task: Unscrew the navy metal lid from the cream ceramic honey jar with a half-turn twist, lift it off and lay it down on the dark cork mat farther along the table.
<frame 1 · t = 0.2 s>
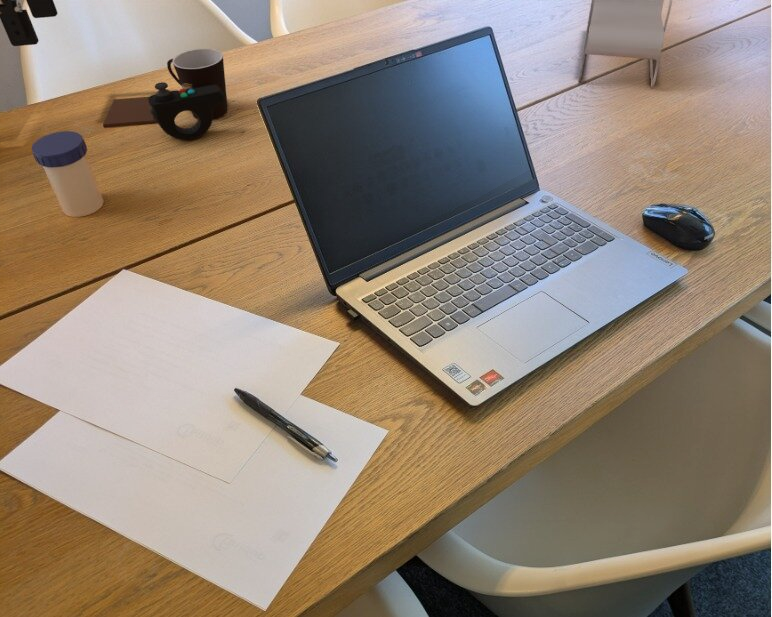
hand: (36, 29, 86), 25 cm above the table, tool pointing down, fingers open, 9 cm apart
chair: (616, 64, 131), on the table
jar lid: (58, 145, 93), point 10 cm above the table, screwed on, not yet turned
jar: (83, 205, 100), on the table
coffee mug: (207, 110, 122), on the table
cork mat: (136, 112, 122), on the table
controller: (196, 137, 115), on the table
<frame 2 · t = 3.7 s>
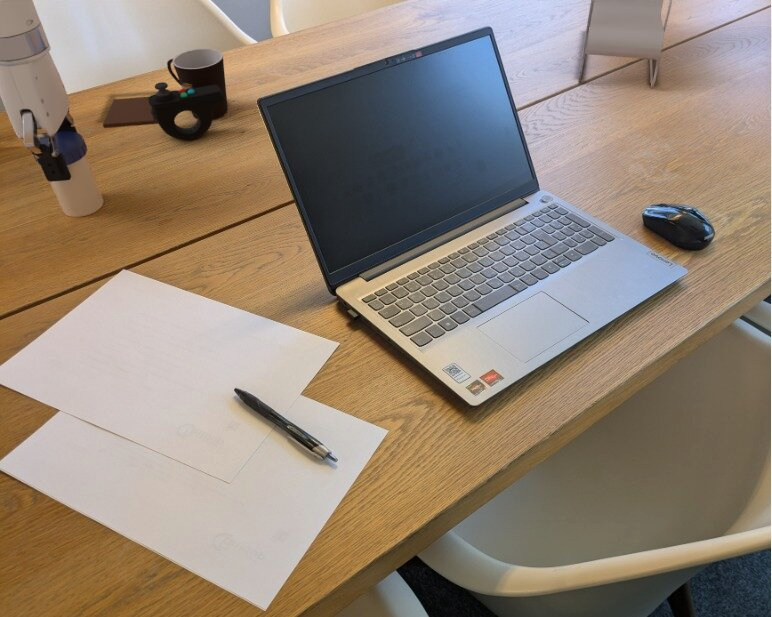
hand: (66, 164, 95), 7 cm above the table, tool pointing down, fingers closed on jar lid, 6 cm apart
jar lid: (58, 145, 93), point 10 cm above the table, screwed on, not yet turned, touching gripper
everything else where it was.
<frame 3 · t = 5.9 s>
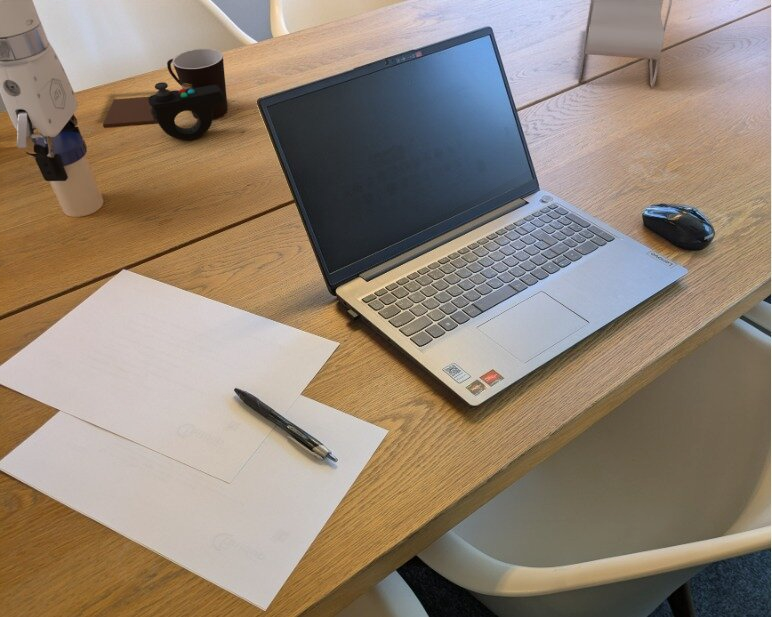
hand: (66, 164, 95), 7 cm above the table, tool pointing down, fingers closed on jar lid, 6 cm apart
jar lid: (58, 145, 93), point 10 cm above the table, off its thread, touching gripper
everything else where it was.
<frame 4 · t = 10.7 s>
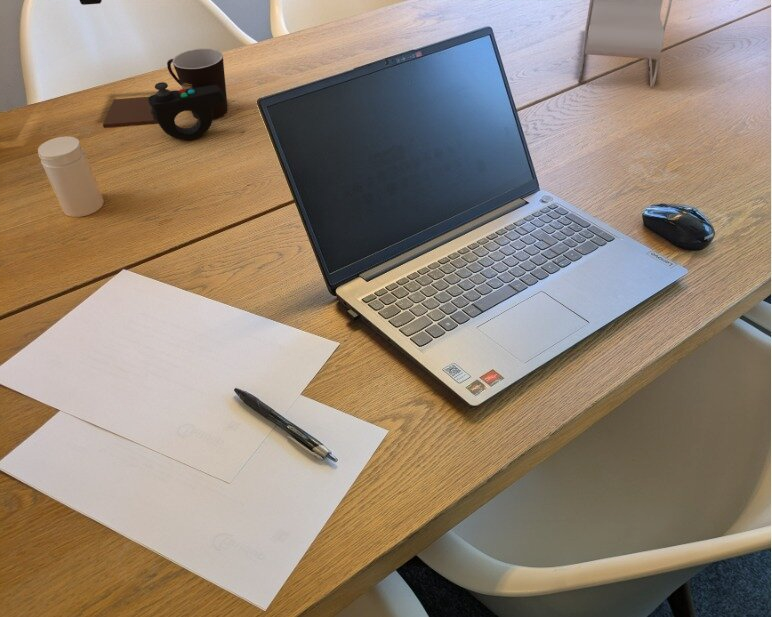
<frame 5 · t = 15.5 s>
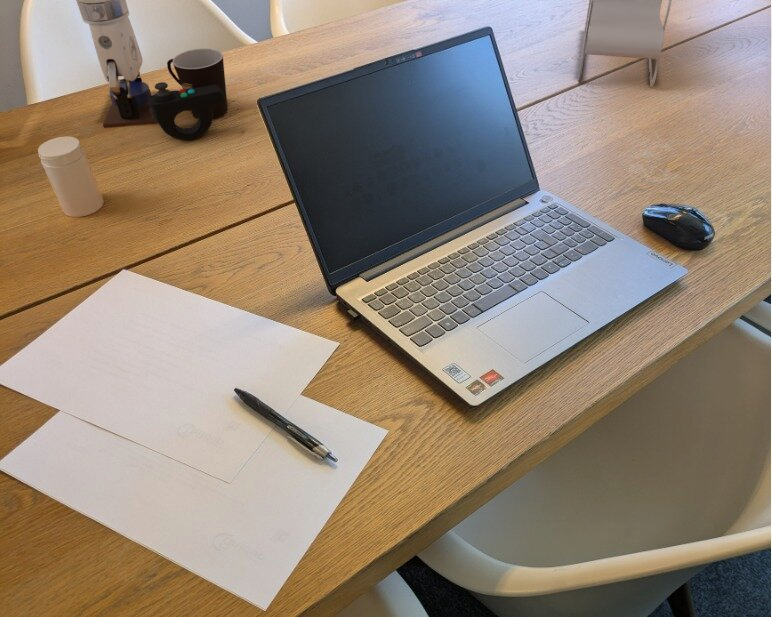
hand: (134, 107, 121), 1 cm above the table, tool pointing down, fingers closed on jar lid, 6 cm apart
jar lid: (129, 91, 119), point 4 cm above the table, off its thread, touching gripper
everything else where it was.
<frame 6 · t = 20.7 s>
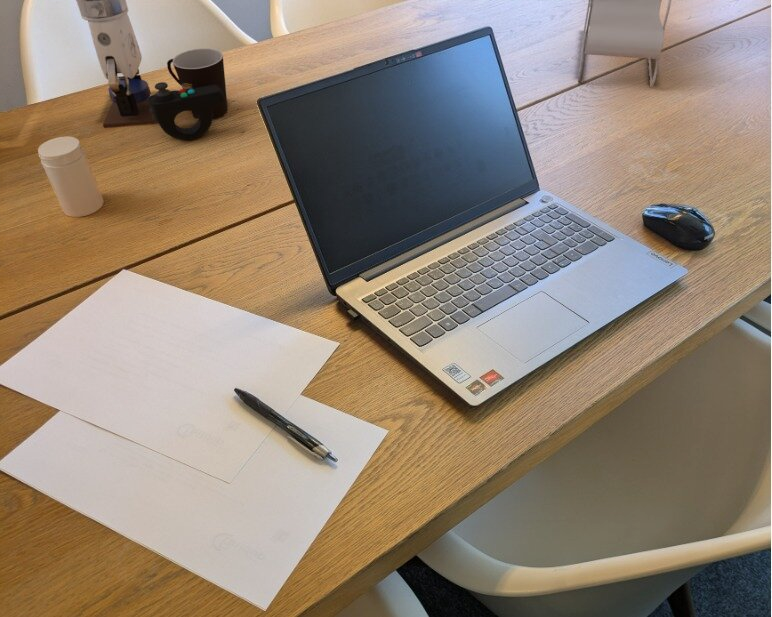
hand: (133, 105, 121), 1 cm above the table, tool pointing down, fingers closed on jar lid, 6 cm apart
jar lid: (128, 88, 119), point 5 cm above the table, off its thread, touching gripper
everything else where it was.
when the fingers open (2 cm above the table, at t = 25.9 s): jar lid drops 3 cm, resting on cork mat.
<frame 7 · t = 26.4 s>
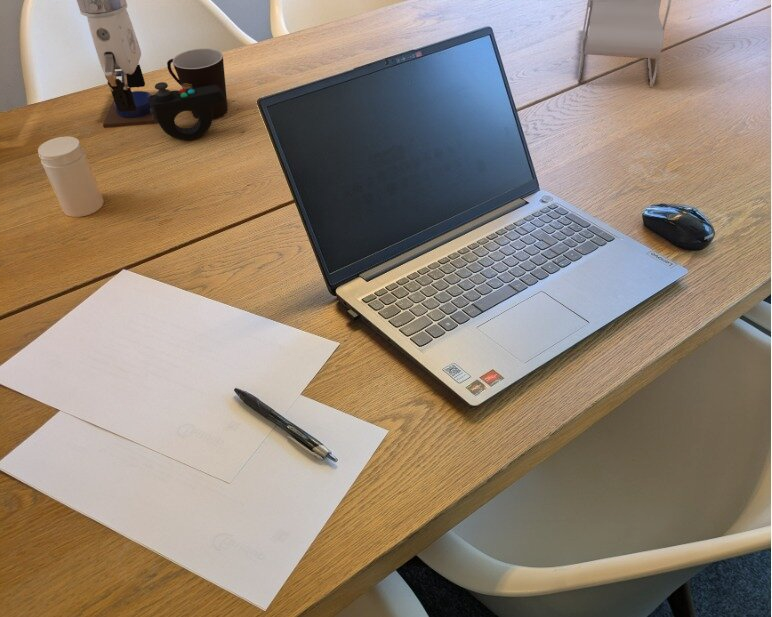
hand: (132, 98, 120), 3 cm above the table, tool pointing down, fingers open, 9 cm apart
jar lid: (133, 101, 121), point 2 cm above the table, off its thread, touching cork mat
everything else where it was.
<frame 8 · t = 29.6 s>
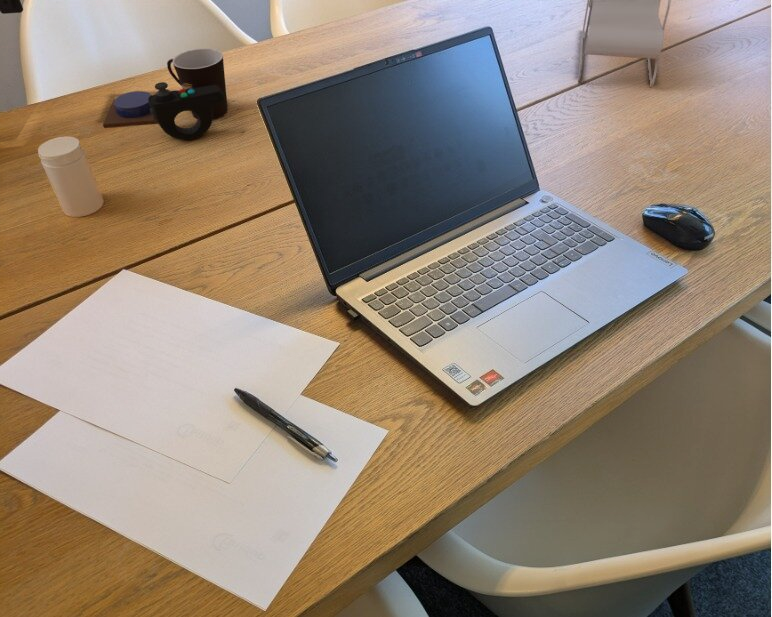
hand: (22, 1, 102), 22 cm above the table, tool pointing down, fingers open, 9 cm apart
nothing on the table moved.
at the end: jar lid came off its thread; jar lid inside the target area on the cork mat (0.0 cm from its centre), point 2.1 cm above the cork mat's base; the gripper is holding nothing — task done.
